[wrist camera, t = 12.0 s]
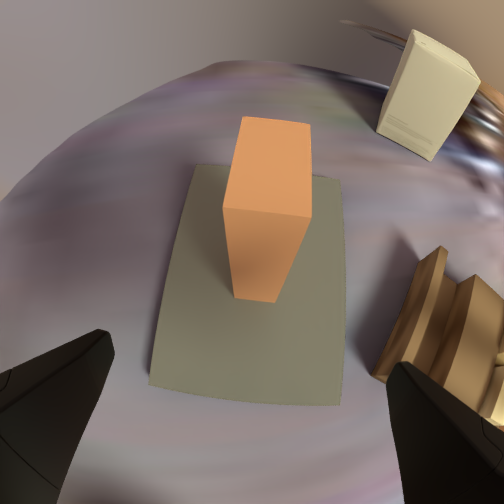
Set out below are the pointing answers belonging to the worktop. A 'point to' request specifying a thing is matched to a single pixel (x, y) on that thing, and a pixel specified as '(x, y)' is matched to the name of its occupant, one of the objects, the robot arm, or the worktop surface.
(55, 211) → the worktop surface
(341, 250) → the slate tile
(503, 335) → the oak offcut
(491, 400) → the ash offcut
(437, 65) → the supplement box
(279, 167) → the orange rectangular block
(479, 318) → the walnut rack
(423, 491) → the robot arm
